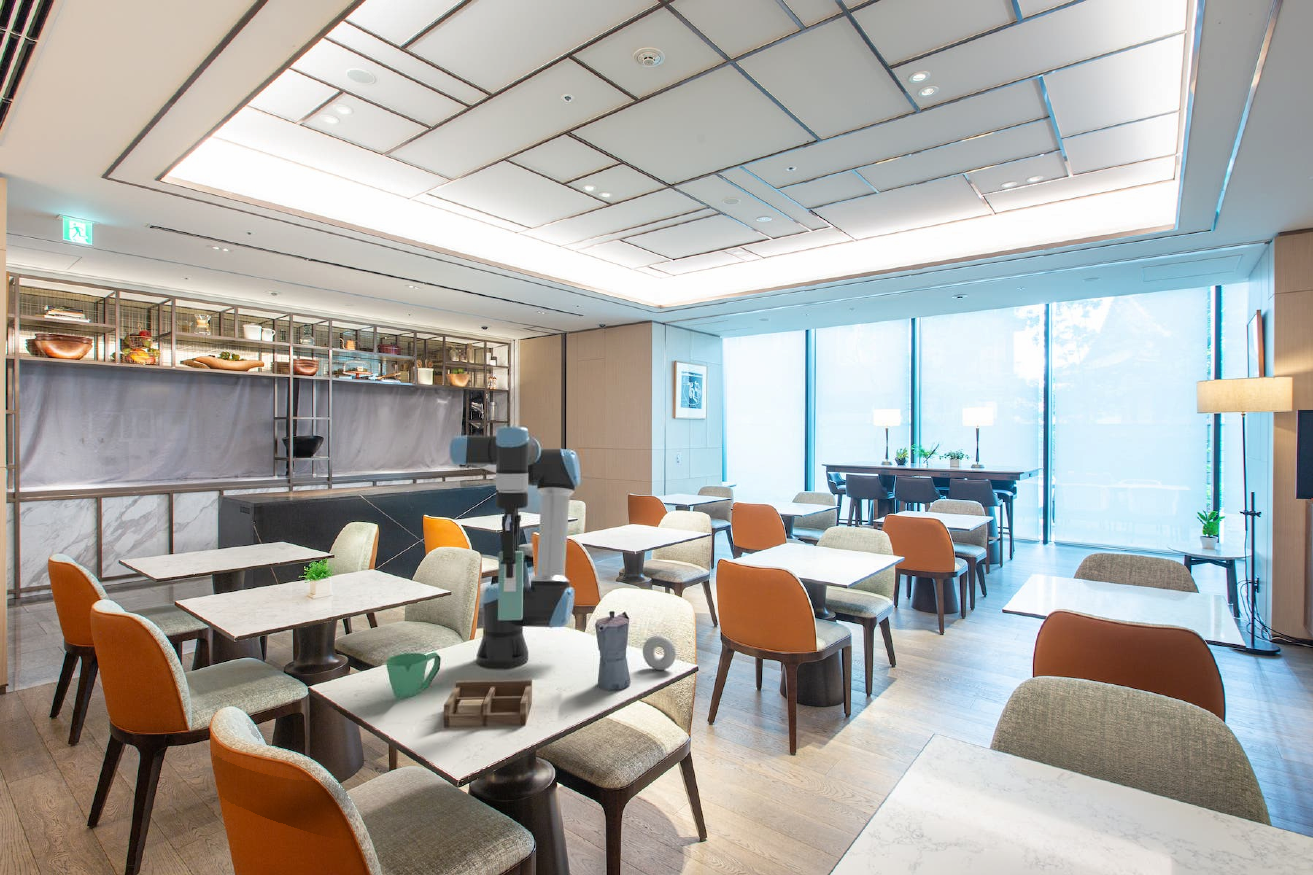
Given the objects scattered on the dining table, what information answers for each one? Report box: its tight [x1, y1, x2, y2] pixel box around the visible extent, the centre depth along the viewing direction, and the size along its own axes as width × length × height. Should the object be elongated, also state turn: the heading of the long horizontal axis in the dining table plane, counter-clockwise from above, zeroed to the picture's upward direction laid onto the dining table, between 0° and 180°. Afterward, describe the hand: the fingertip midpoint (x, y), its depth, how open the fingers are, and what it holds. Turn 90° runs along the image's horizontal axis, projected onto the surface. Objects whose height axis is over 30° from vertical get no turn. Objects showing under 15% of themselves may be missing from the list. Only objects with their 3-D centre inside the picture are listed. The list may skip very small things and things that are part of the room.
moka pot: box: [594, 610, 631, 691], centre depth 174 cm, size 10×15×20 cm, turn 158°
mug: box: [385, 652, 442, 702], centre depth 165 cm, size 15×10×10 cm
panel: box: [497, 550, 524, 620], centre depth 153 cm, size 2×6×16 cm, turn 94°
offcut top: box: [458, 700, 484, 714], centre depth 147 cm, size 3×5×2 cm, turn 94°
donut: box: [642, 634, 677, 671], centre depth 185 cm, size 10×4×10 cm, turn 71°
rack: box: [443, 678, 533, 729], centre depth 150 cm, size 12×18×8 cm, turn 94°
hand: (510, 589), depth 153 cm, fingers closed on panel, 2 cm apart
